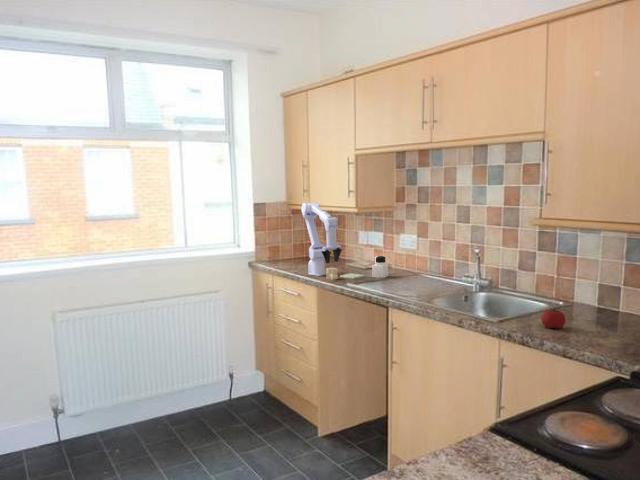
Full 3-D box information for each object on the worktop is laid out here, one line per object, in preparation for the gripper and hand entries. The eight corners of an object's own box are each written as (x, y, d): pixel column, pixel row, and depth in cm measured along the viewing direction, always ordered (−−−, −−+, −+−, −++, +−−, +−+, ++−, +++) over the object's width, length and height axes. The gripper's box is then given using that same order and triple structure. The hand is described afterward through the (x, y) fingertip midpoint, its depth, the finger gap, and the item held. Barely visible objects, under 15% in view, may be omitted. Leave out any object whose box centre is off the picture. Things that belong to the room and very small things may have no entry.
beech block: (326, 279, 286) (326, 268, 285) (331, 277, 289) (331, 267, 289) (332, 279, 283) (332, 269, 282) (337, 278, 286) (337, 268, 286)
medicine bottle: (388, 276, 292) (388, 255, 290) (383, 278, 286) (383, 257, 284) (377, 275, 295) (377, 255, 294) (371, 277, 289) (371, 256, 288)
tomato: (548, 323, 191) (549, 305, 190) (569, 328, 185) (569, 309, 184) (536, 327, 186) (537, 308, 185) (557, 332, 180) (558, 312, 179)
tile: (339, 276, 291) (339, 275, 291) (350, 274, 299) (350, 273, 299) (353, 278, 285) (353, 277, 285) (363, 276, 292) (363, 275, 292)
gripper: (328, 240, 276) (328, 264, 277) (345, 237, 287) (345, 261, 288) (318, 239, 281) (319, 263, 282) (335, 237, 291) (336, 260, 293)
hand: (332, 262), depth 285 cm, fingers open, 7 cm apart
